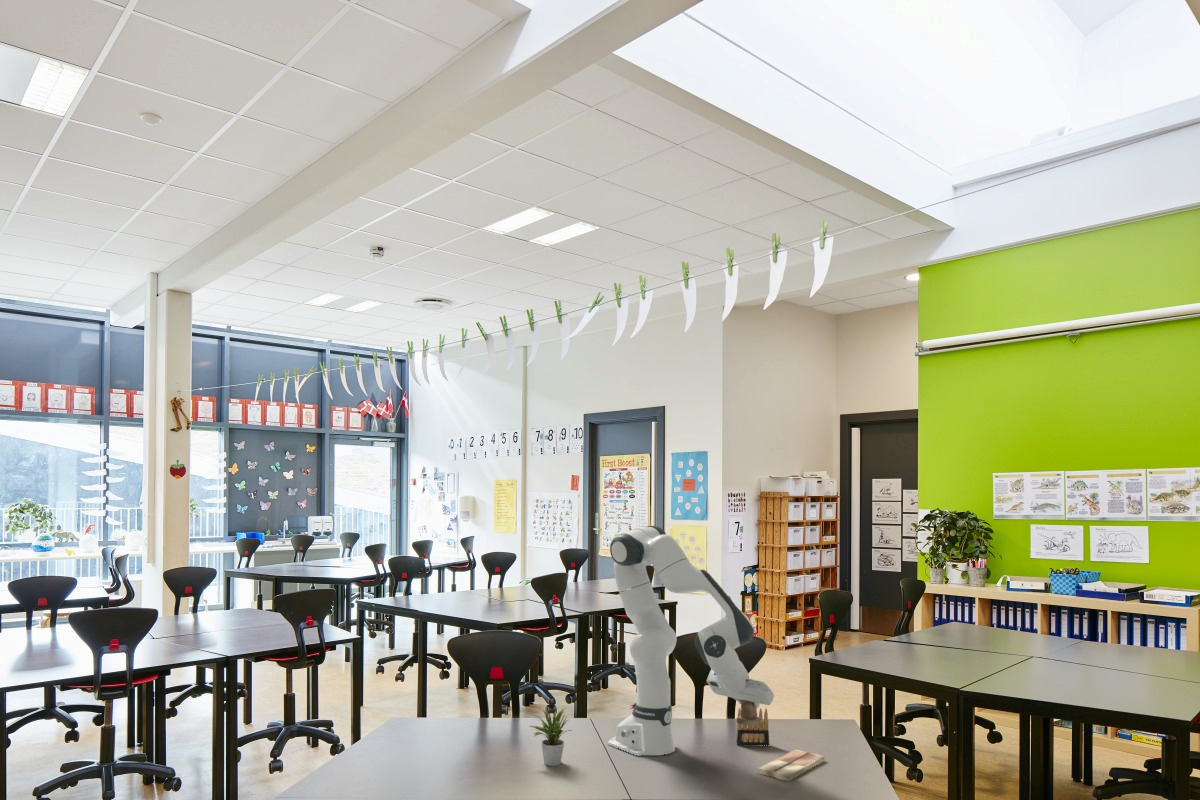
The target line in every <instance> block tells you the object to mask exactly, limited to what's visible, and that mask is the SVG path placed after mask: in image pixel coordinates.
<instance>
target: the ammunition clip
mask: <svg viewBox="0 0 1200 800" xmlns="http://www.w3.org/2000/svg"><path fill="white" fill-rule="evenodd" d="M763 714H764V715H763ZM739 716H741V707H739V708H738V710H737V717H739ZM758 717H761V723H758V724H756V725H754V726H749V725H745V724H741V723H737V722H736V743H737V744H736V746H737V745H763V746H762V747H769V746H770V733H769V732H770V731H769V715H768V709H767V708H765V709H764V712H763V710H762V708H759V711H758ZM764 745H765V746H764ZM766 745H767V746H766ZM768 745H769V746H768Z"/></svg>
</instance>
